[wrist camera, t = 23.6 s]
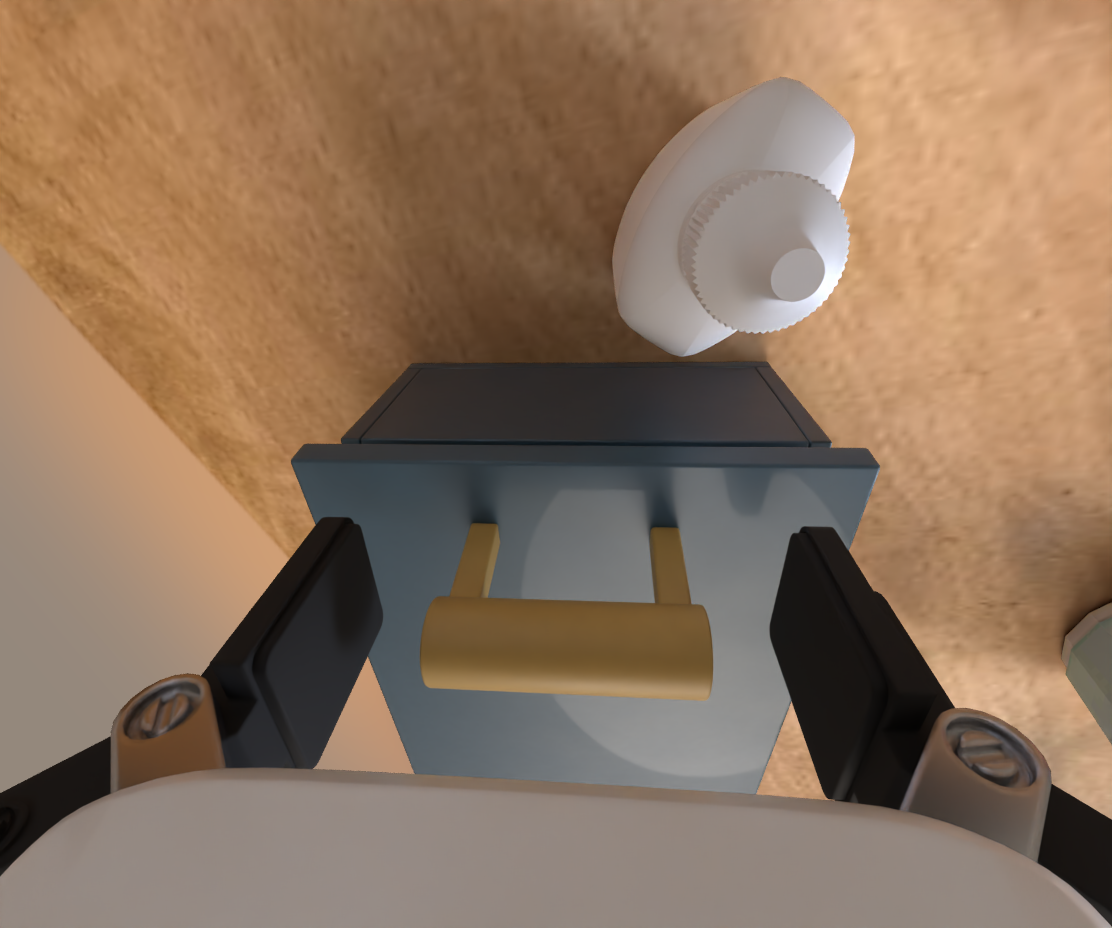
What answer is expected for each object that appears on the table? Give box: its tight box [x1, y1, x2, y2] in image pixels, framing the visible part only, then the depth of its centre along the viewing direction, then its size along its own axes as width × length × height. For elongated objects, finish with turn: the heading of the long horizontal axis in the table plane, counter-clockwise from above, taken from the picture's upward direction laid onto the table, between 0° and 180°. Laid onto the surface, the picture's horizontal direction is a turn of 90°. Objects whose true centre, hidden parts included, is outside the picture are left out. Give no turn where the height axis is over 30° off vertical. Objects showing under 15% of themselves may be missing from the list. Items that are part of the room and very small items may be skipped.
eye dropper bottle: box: [612, 77, 854, 357], centre depth 12 cm, size 4×6×12 cm
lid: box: [291, 444, 880, 794], centre depth 16 cm, size 16×14×5 cm
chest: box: [341, 362, 832, 448], centre depth 21 cm, size 15×14×7 cm
